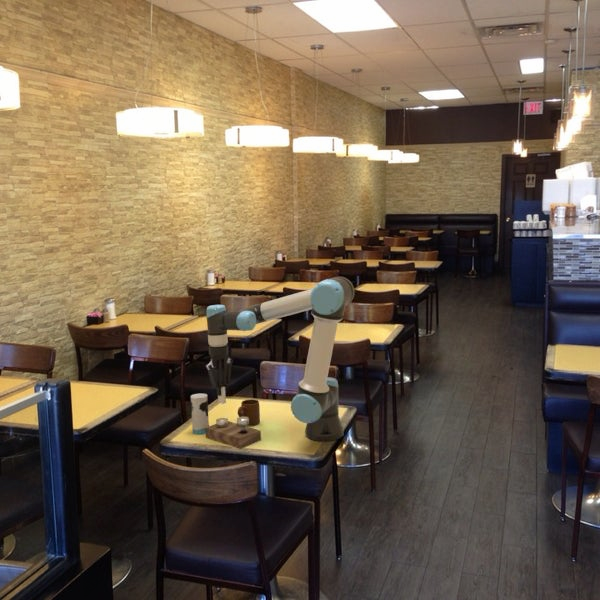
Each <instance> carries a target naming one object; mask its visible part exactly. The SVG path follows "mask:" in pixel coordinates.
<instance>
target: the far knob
mask: <svg viewBox="0 0 600 600" xmlns="http://www.w3.org/2000/svg"><path fill="white" fill-rule="evenodd" d="M228 421H229V420H228V418H227V417H220V418H216V419H215V424H216V426H217V427H219V428H224V427H227V426H228Z"/></svg>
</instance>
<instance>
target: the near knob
mask: <svg viewBox="0 0 600 600" xmlns="http://www.w3.org/2000/svg"><path fill="white" fill-rule="evenodd" d="M236 423H237V426H239V427H240V429H241V434H245V433H246V426H247V427H249V426H248V425H249V418H248V417H239V416H238V417H237V418H236Z"/></svg>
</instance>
